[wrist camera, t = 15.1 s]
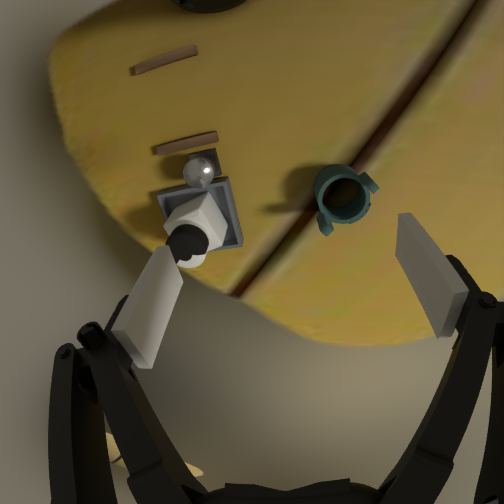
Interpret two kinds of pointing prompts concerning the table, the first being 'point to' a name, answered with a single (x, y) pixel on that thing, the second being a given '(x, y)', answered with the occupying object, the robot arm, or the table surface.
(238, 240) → the tray
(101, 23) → the table surface
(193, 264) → the medicine bottle
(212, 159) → the knob
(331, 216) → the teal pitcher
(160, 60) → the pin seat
